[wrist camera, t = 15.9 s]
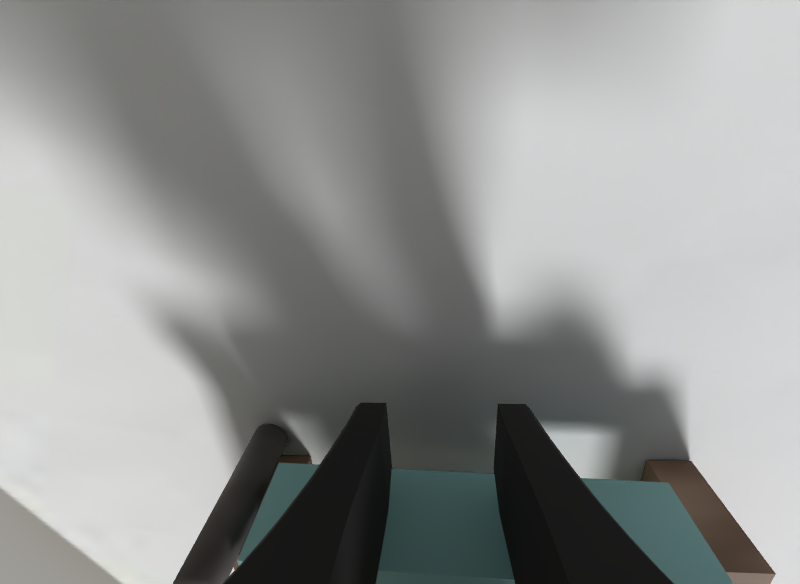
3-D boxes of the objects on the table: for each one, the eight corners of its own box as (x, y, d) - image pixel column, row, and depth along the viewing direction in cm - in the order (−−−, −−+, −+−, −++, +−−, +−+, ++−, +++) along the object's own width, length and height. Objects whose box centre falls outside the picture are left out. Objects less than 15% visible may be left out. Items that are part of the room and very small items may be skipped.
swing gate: (284, 491, 11) (229, 635, 8) (278, 459, 10) (217, 601, 7) (656, 511, 10) (750, 678, 7) (669, 479, 10) (777, 644, 7)
